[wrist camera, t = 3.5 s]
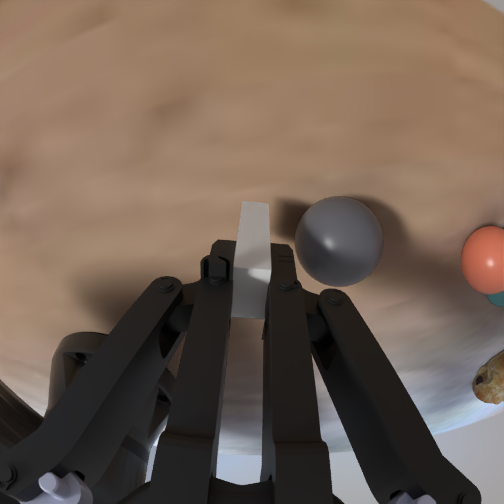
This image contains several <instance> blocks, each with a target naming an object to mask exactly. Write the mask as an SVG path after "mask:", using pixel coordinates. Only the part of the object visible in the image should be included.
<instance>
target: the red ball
mask: <svg viewBox="0 0 504 504" xmlns="http://www.w3.org/2000/svg"><path fill="white" fill-rule="evenodd" d="M461 266H462V271H463V274H464V277H465V279H466V280H467V282H468V283H469V284H470V286H471V287H472V288H474V289H475V290H476V291H478V292H480V293H483V294H496V293H499V292H502V291H503V290H504V230H503V229H501V228H499V227H495V226H486V227H482V228H480V229H478V230H476V231H475V232H473V233H472V234H471V235H470V237H469V238H468V239H467V241H466V242H465V244H464V247H463V250H462V255H461Z"/></svg>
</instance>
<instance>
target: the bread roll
mask: <svg viewBox="0 0 504 504" xmlns="http://www.w3.org/2000/svg"><path fill="white" fill-rule="evenodd" d="M473 391H474V394H475V395H476V397H477V398H478V399H479V400H481V401H483V402H485V403H494V404H499V403H500V402H501V401H504V351H502V352H500V353H498V354H497V355H495V356H494V357H493V358H491V359H490V360H489V361H488V362H487V363H486V364H485V365H483V366H482V367H481V368H480V369H479V370H478V373H477V375H476V377H475V380H474V382H473Z"/></svg>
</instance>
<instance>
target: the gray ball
mask: <svg viewBox="0 0 504 504" xmlns="http://www.w3.org/2000/svg"><path fill="white" fill-rule="evenodd" d="M295 250H296V254H297V257H298V260H299V262H300V264H301V265H302V267H303V268H304V270H305V271H306V272H307V273H308V274H309V275H310V276H311V277H312V278H314V279H315V280H317V281H319V282H320V283H323V284H325V285H329V286H335V287H344V286H349V285H353V284H356V283H358V282H360V281H362V280H363V279H365V278H366V277H367V276H368V275H369V274H370V273H371V272H372V271H373V270H374V269H375V267H376V266H377V264H378V262H379V260H380V258H381V255H382V250H383V233H382V229H381V226H380V223H379V221H378V219H377V218H376V216H375V215H374V213H373V212H372V211H371V210H370V209H369V208H368V207H367V206H366V205H364V204H363V203H361V202H359V201H357V200H355V199H352V198H348V197H342V196H335V197H329V198H325V199H323V200H320V201H318V202H317V203H315V204H314V205H312V206H311V207H310V208H309V209H308V210H307V211H306V212H305V213H304V214H303V216H302V217H301V219H300V221H299V223H298V226H297V229H296V234H295Z"/></svg>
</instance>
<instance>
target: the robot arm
mask: <svg viewBox="0 0 504 504" xmlns="http://www.w3.org/2000/svg"><path fill="white" fill-rule="evenodd" d="M294 262H295V261H294V255H293V250H292V249H291V248H290V246H289V245H287V244H275V243H270V225H269V204H268V203H260V202H248V201H242V208H241V215H240V222H239V229H238V236H237V241H231V240H217V241H216V242H215V243H214V244H212V248H211V252H210V255H207V256H205V257H204V258H203V259H202V260H201V262H200V263H201V279H200V280H199V281H197V282H194V283H190V284H183V285H182V283H181V281H180V280H179V279H177V278H175V277H170V276H165V277H160V278H157V279H155V280H154V281H153V282H152V283H151V284H150V285H149V286H148V288H147V289H146V290H145V291H144V292H143V293H142V295H141V296H140V297H139V298H138V299H137V301H136V302H135V303H134V304H133V305H132V307H131V308H130V309H129V310H128V311H127V313H126V314H125V315H124V316H123V318H122V319H121V320H120V321H119V322H118V324H117V325H116V326H115V327H114V329H113V330H112V331H111V332H110V334H109V335H108V336H106V335H102V334H96V333H86V332H82V333H74V334H71V335H68V336H66V337H65V338H64V339H63V340H62V341H61V342H60V344H59V346H58V348H57V350H56V352H55V354H54V356H53V359H52V365H51V374H50V385H49V399H48V407H47V410H46V413H45V415H44V418H43V417H42V416H41V415H40V414H38V413H37V412H36V411H35V410H33V409H32V408H31V407H30V406H29V405H28V404H26V403H25V402H24V401H23V400H22V399H21V398H20V397H18V396H17V395H16V394H15V393H14V392H13V391H12V390H11V389H10V388H9V387H8V386H6V385H5V384H4V383H3V382H2V381H1V380H0V504H344V503H343V502H342V501H341V500H340V499H339V498H338V497H336V496H335V495H334V494H333V493H332V481H331V470H330V460H329V451H328V447H327V444H326V443H325V442H324V441H322V439H321V433H320V423H319V414H318V404H317V396H316V387H315V378H314V370H313V362H312V356H313V358H314V360H315V362H316V365H317V367H318V369H319V372H320V374H321V376H322V378H323V381H324V383H325V385H326V388H327V390H328V392H329V395H330V397H331V399H332V402H333V404H334V406H335V408H336V411H337V413H338V415H339V418H340V420H341V422H342V425H343V427H344V429H345V432H346V434H347V437H348V439H349V441H350V444H351V446H352V448H353V451H354V453H355V455H356V458H357V460H358V463H359V465H360V467H361V469H362V472H363V474H364V477H365V479H366V482H367V484H368V486H369V488H370V490H371V492H372V494H373V495H374V497H375V499H376V500H377V502H378V503H379V504H481V494H480V491H479V490H478V488H477V487H476V486H475V485H474V484H473V483H472V482H471V481H470V480H469V479H467V478H466V477H465V476H464V475H463V474H462V473H461V472H460V471H459V470H458V469H456V468H455V466H453V465H452V464H451V463H450V462H449V461H448V460H447V459H446V458H445V457H444V456H443V455H442V453H441V452H440V450H439V448H438V446H437V444H436V442H435V440H434V438H433V437H432V435H431V433H430V431H429V429H428V427H427V425H426V424H425V422H424V420H423V418H422V416H421V415H420V413H419V411H418V409H417V408H416V406H415V404H414V402H413V401H412V399H411V397H410V395H409V394H408V392H407V390H406V388H405V387H404V385H403V383H402V382H401V380H400V378H399V376H398V375H397V373H396V371H395V370H394V368H393V366H392V365H391V363H390V361H389V360H388V358H387V357H386V355H385V353H384V352H383V350H382V348H381V347H380V345H379V343H378V342H377V340H376V339H375V337H374V335H373V334H372V332H371V331H370V329H369V328H368V326H367V324H366V323H365V321H364V320H363V318H362V317H361V315H360V313H359V312H358V310H357V309H356V307H355V306H354V304H353V303H352V301H351V300H350V298H349V297H348V296H347V295H346V293H344V292H342V291H341V290H337V289H325V290H323V291H322V292H320V295H318V294H314V293H311V292H309V291H306V290H305V289H303V288H302V285H301V283H300V282H299V281H298V280H297V274H296V268H295V263H294ZM231 317H238V318H251V319H264V317H265V322H264V328H263V335H262V340H263V426H262V469H261V476H260V482H259V483H253V484H248V485H237V484H234V483H230V482H227V481H224V480H221V479H218V478H216V467H217V454H218V444H219V433H220V423H221V412H222V402H223V392H224V382H225V373H226V363H227V353H228V344H229V335H230V325H231ZM186 331H187V335H186V339H185V344H184V348H183V352H182V356H181V361H180V365H179V369H178V374H177V378H176V382H175V380H174V378H173V376H172V375H171V374H170V372H169V371H168V370H167V369H166V366H167V364H168V363H169V361H170V359H171V358H172V356H173V354H174V353H175V351H176V349H177V348H178V346H179V344H180V342H181V341H182V339H183V337H184V336H185V333H186ZM311 353H312V354H311ZM166 423H167V425H166ZM165 425H166V428H165V431H163V432H162V433H161V431H162V430H163V428H164V426H165ZM160 433H161V435H160ZM159 435H160V437H159V441H158V445H157V450H156V455H155V460H154V465H153V470H152V476H151V481H149V482H146V483H145V479H146V472H147V465H148V460H149V454H150V450H151V448H152V446H153V444H154V443H155V441H156V439H157V438H158V436H159Z"/></svg>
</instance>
